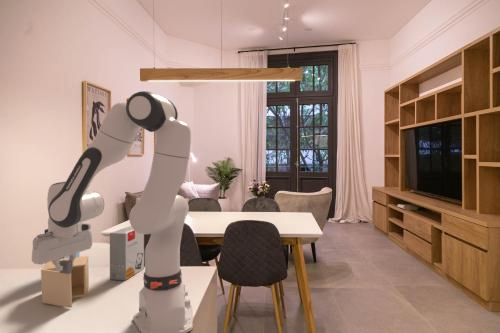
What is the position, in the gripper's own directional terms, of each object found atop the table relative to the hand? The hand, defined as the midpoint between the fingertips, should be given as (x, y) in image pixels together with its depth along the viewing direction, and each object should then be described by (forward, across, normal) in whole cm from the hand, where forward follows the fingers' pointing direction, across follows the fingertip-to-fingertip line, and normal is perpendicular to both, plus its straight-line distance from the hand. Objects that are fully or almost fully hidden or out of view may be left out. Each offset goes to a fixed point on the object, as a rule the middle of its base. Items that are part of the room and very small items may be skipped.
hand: (64, 269), depth 110 cm
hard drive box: (+14, +34, +4) cm, 37 cm away
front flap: (+13, 0, +5) cm, 14 cm away
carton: (+14, +9, +11) cm, 20 cm away
